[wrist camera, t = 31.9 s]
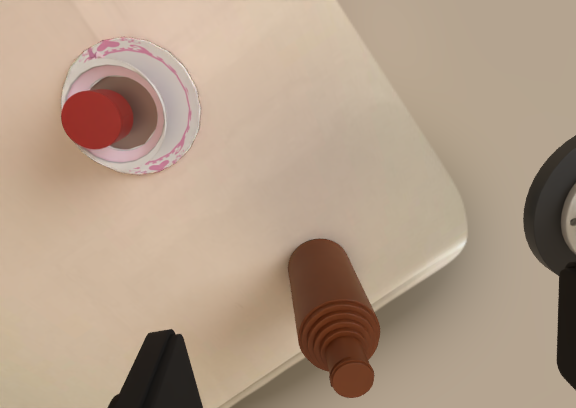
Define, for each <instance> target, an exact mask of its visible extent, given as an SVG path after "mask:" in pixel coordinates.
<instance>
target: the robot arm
mask: <svg viewBox="0 0 576 408" xmlns="http://www.w3.org/2000/svg"><path fill="white" fill-rule="evenodd" d="M561 229H562V235H563V237H564V240H565V242H566V244H567V246H568V247H569V249H570V250H571V251H572V252H573V253H574V254H575V255H576V183H575V184H574V186H573V187H572V189H571V190H570V192H569V194H568V196H567V198H566V200H565V202H564V206H563V209H562V214H561ZM558 303H559V304H558V305H559V306H558V336H557V365H558V369H559V371H560V373H561V375H562V376H563V377H564V379H566V381H567V382H568V383H569V384H570V385H571V386H572V387H573V388H574V389H575V390H576V261H574V262H569V263H568V264H567V265H566V266H565V269H563V270H561V272H560V275H559V302H558ZM108 408H203V406H202V403H201V399H200V395H199V392H198V388H197V385H196V381H195V378H194V374H193V371H192V367H191V363H190V360H189V356H188V353H187V349H186V346H185V342H184V339H183V336H182V335H181V334H176V335H175V332H174V331H173V330H172V329H170V330H164V331H158V332H152V333H148V335H147V336H146V338H145V340H144V342H143V345H142V347H141V349H140V351H139V353H138V355H137V357H136V359H135V362H134V364H133V366H132V368H131V370H130V372H129V374H128V376H127V379H126V381H125V383H124V385H123V387H122V389H121V391H120V393H119V394H118V395H116V396H115V397H114V398H113V399H112V401H111V402H110V404H109V406H108Z"/></svg>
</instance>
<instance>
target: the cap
mask: <svg viewBox="0 0 576 408" xmlns="http://www.w3.org/2000/svg"><path fill="white" fill-rule="evenodd" d="M61 120H62V124H63V128H64V130H65V132H66V133H67V135H68V136H69V137H70V138H71V139H72V140H73V141H74V142H75V143H77V144H78V145H80V146H82V147H84V148H88V149H102V148H105V147H108V146H110V145H112V144H114V143H116V142H118V141H119V140H121V139H123V138H124V137H126V136H127V135H128V134H129V132H130V131H131V128H132V126H133V112H132V109H131V107H130V105H129V103H128V102H127V100H126V99H125V98H124V97H123V96H121V95H120V94H119V93H117V92H115V91H112V90H108V89H97V90H89V91H81V92H78V93H76V94H74V95H72V96H71V97H70V98H68V100H67V101H66V102H65V104H64V106H63V109H62V114H61Z"/></svg>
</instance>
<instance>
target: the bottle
mask: <svg viewBox="0 0 576 408" xmlns="http://www.w3.org/2000/svg"><path fill="white" fill-rule="evenodd" d="M288 273H289V280H290V286H291V293H292V300H293V307H294V314H295V321H296V328H297V335H298V342H299V346H300V349H301V351H302V353H303V354H304V356H305V357H306V358H307V359H308V360H309V361H310V362H311V363H312V364H313V365H315V366H316V367H318V368H320V369H322V370H325V371H329V373H330V376H329V378H330V383H331V386H332V387H333V388H334V390H335V391H336V392H337V393H338V394H339V395H341V396H344V397H347V398H354V397H359V396H361V395H364V394H365V393H366V392H368V391H369V390H370V388H371V387H372V385H373V381H374V371H373V369H372V367H371V366H370V364H369V361H368V360H369V359H370V357H371V356H372V355H373V354H374V352H375V350H376V348H377V346H378V341H379V337H380V326H379V322H378V319H377V317H376V315H375V313H374V311H373V308H372V306H371V304H370V302H369V300H368V298H367V296H366V294H365V292H364V290H363V287H362V285H361V283H360V281H359V279H358V277H357V275H356V273H355V271H354V269H353V266H352V264H351V262H350V260H349V258H348V256H347V254H346V252H345V251H344V249H343V248H342V247H341V246H340V245H338V244H337V243H335V242H333V241H330V240H327V239H314V240H310V241H307V242H305V243H303V244H302V245H300V246H299V247H298V248H297V249H296V250H295V251H294V252H293V254H292V255H291V257H290V260H289V264H288Z"/></svg>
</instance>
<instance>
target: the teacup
mask: <svg viewBox="0 0 576 408" xmlns="http://www.w3.org/2000/svg"><path fill="white" fill-rule="evenodd" d="M97 89H108V90H112V91H115V92H117V93H119V94H120V95H121V96H123V97H124V98H125V99H126V100H127V102H128V103H129V105H130V107H131V109H132V112H133V126H132V128H131V131H130V132H129V134H128V135H127V136H126V137H124V138H123V139H121V140H119V141H118V142H116V143H114V144H112V145H110V146H108V147H105V148H102V149H88V148H84V147H82V146H80V145H78V144H77V143H75V142H74V143H75V144H76V145H77V147H78V148H79V149H80V150H81V151H82V152H83V153H84V154H85V155H87V156H88V157H89V158H91V159H92V160H94V161H95V162H97V163H99V164H101V165H103V166H106V167H108V168H110V169H112V170H115V171H117V172H120V173H128V174H135V175H143V174H149V173H155V172H160V171H162V170H164V169H165V168H167V167H169V166H171V165H173V164H175V163H177V162H178V161H179V160H180V159H181V158H182V156H183V155H184V154H185V153H186V152H187V151H188V150H189V149H190V148H191V146H192V144H193V142H194V139H195V137H196V135H197V133H198V130H199V124H200V114H201V106H200V102H199V97H198V93H197V88H196V86H195V84H194V82H193V80H192V79H191V77H190V75H189V73H188V72H187V70H186V68H185V67H184V66H183V65H182V64H181V63H180V62H179V61H178V60H177V59H176V58H175V57H174V56H173V55H172V54H171V53H170V52H169V51H167V50H165V49H163V48H161V47H159V46H157V45H155V44H153V43H151V42H149V41H146V40H140V39H135V38H129V37H120V38H114V39H108V40H102V41H101V42H99V43H97V44H95V45H93V46H92V47H90V48H88V49H86V50H85V51H83V52H82V54H81V55H80V56H79V57H78V58H77V59H76V61H75V62H74V63H73V64H72V65H71V67H70V68H69V71H68V74H67V77H66V80H65V83H64V85H63V91H62V96H61V111H62V109H63V106H64V104H65V102H66V101H67V100H68V98H70V97H71V96H72V95H74V94H76V93H78V92H81V91H89V90H97Z"/></svg>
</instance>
